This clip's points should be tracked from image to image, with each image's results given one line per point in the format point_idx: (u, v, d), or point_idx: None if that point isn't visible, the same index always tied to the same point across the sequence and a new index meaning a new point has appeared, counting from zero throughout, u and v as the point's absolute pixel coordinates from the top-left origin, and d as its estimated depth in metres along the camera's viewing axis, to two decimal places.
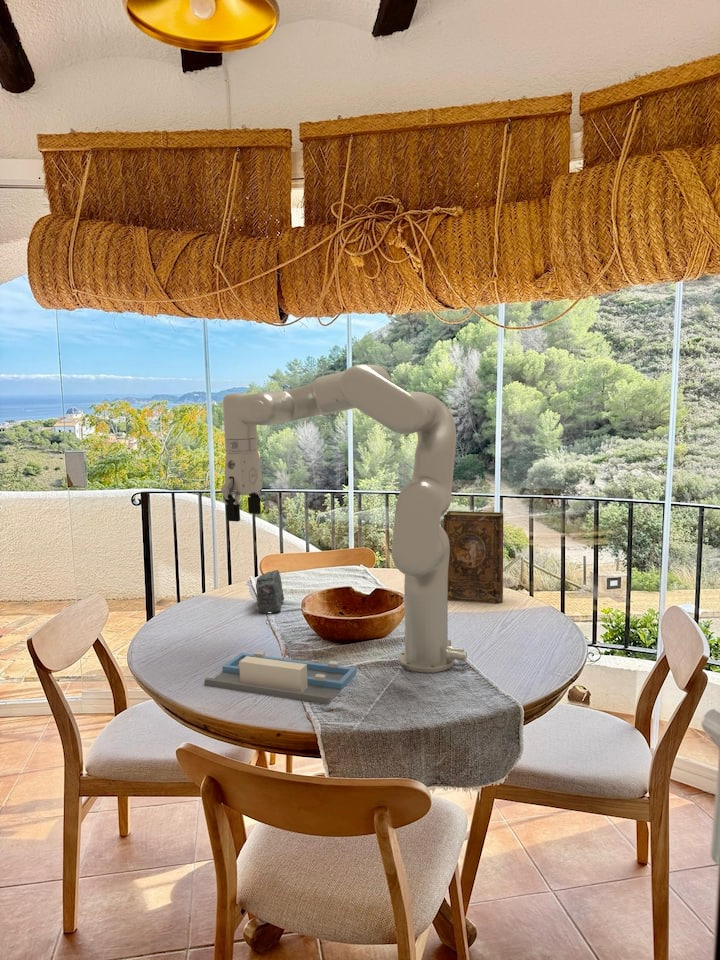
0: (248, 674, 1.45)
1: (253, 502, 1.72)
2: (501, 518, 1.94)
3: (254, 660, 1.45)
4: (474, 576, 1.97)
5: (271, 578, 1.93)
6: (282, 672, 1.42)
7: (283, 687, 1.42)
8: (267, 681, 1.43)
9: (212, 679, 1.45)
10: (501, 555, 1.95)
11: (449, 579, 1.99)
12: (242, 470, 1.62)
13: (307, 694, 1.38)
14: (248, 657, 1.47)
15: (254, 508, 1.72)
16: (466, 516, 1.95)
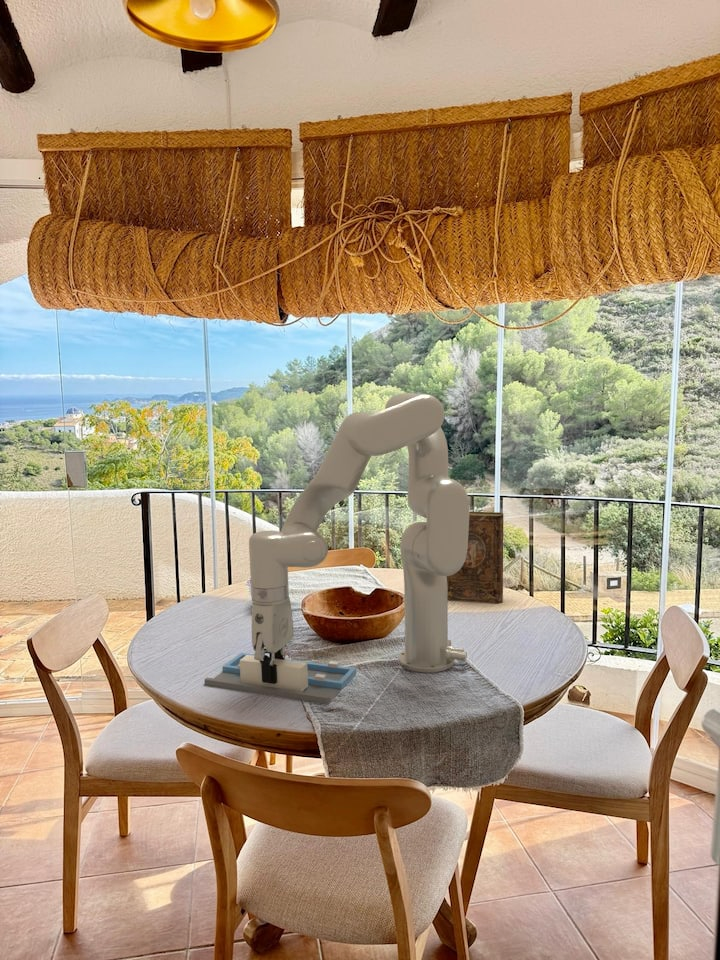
0: (248, 672, 1.45)
1: None
2: (501, 518, 1.94)
3: (254, 659, 1.45)
4: (474, 576, 1.97)
5: None
6: (283, 671, 1.41)
7: (283, 686, 1.42)
8: None
9: (212, 679, 1.45)
10: (501, 555, 1.95)
11: (449, 579, 1.99)
12: (272, 625, 1.38)
13: (307, 694, 1.38)
14: (249, 656, 1.47)
15: None
16: None
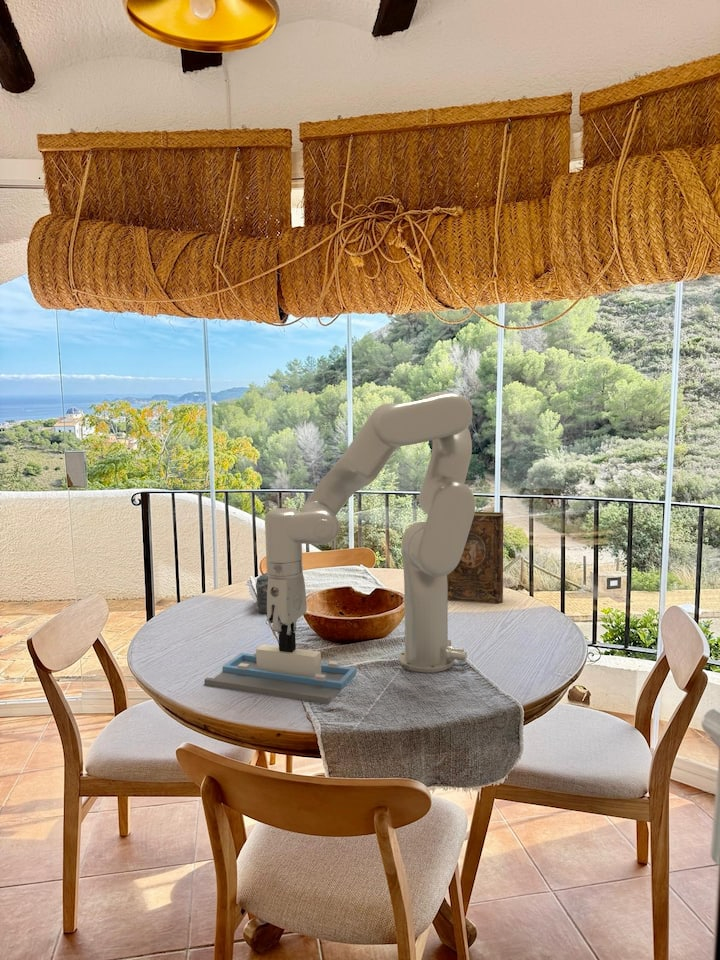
0: (264, 661, 1.51)
1: None
2: (501, 518, 1.94)
3: (270, 648, 1.52)
4: (474, 576, 1.97)
5: None
6: (297, 659, 1.48)
7: (298, 673, 1.48)
8: (283, 668, 1.50)
9: (212, 679, 1.45)
10: (501, 555, 1.95)
11: (449, 579, 1.99)
12: (286, 598, 1.44)
13: (307, 694, 1.38)
14: (265, 645, 1.54)
15: None
16: None
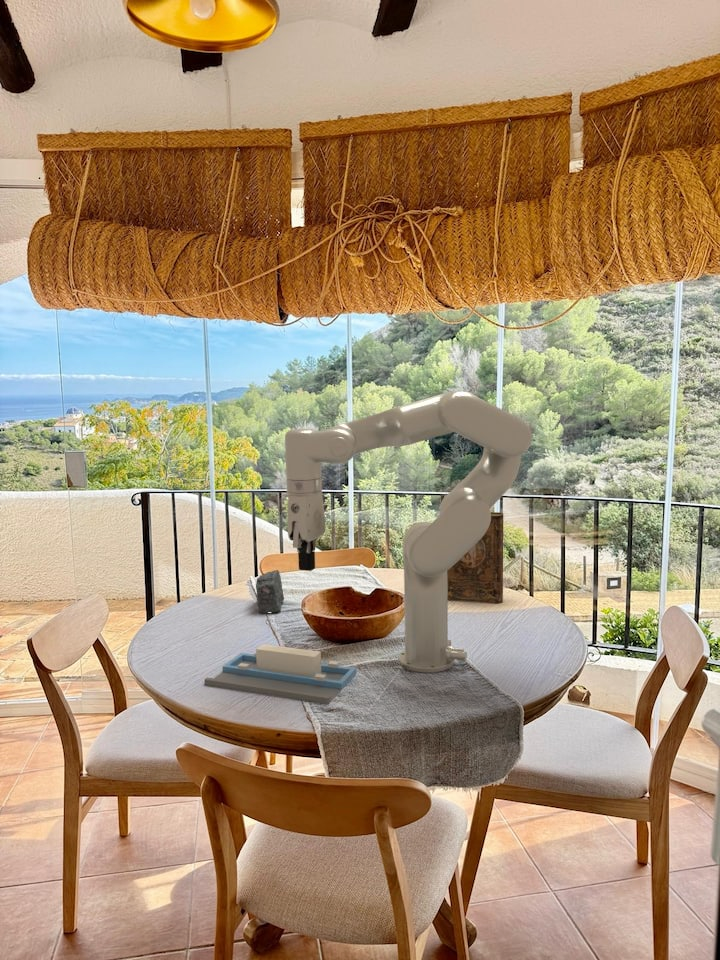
0: (264, 661, 1.51)
1: None
2: (501, 518, 1.94)
3: (270, 648, 1.52)
4: (474, 576, 1.97)
5: (271, 578, 1.93)
6: (297, 659, 1.48)
7: (298, 673, 1.48)
8: (283, 668, 1.50)
9: (212, 679, 1.45)
10: (501, 555, 1.95)
11: (449, 579, 1.99)
12: (307, 514, 1.47)
13: (307, 694, 1.38)
14: (265, 645, 1.54)
15: None
16: None
